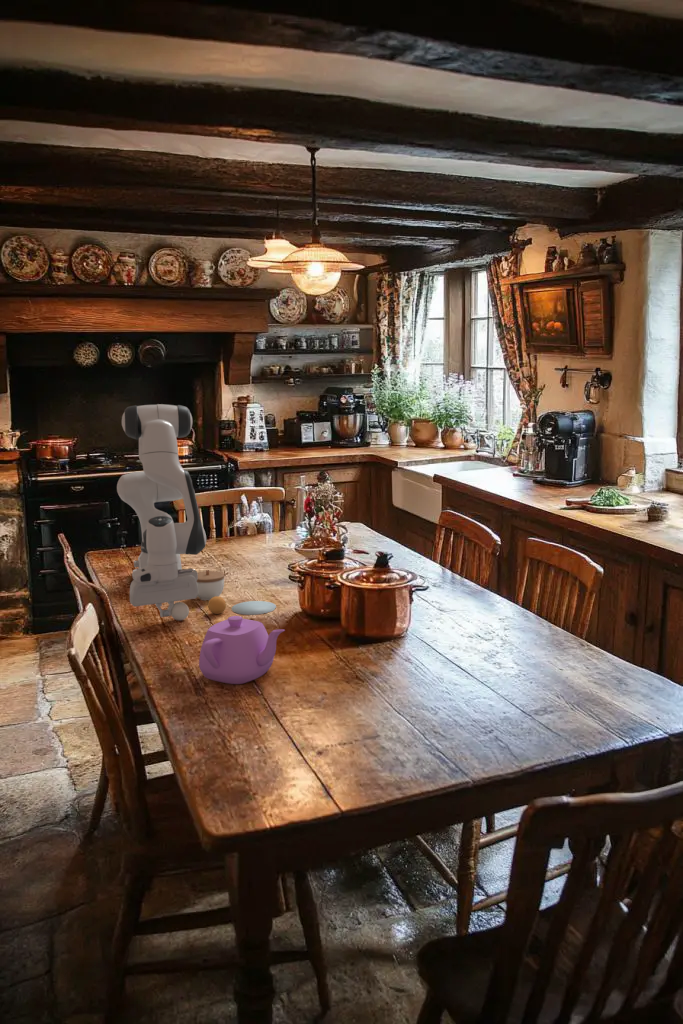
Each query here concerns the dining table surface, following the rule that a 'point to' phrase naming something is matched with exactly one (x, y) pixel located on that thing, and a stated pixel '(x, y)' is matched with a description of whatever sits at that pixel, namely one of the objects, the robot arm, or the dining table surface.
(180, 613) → the cue ball
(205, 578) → the lidded jar
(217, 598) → the object ball
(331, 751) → the dining table surface
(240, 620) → the teapot
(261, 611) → the gray disc
